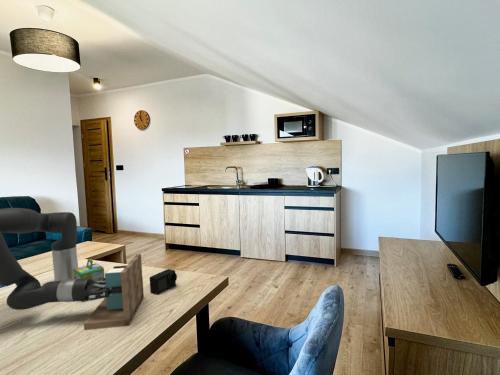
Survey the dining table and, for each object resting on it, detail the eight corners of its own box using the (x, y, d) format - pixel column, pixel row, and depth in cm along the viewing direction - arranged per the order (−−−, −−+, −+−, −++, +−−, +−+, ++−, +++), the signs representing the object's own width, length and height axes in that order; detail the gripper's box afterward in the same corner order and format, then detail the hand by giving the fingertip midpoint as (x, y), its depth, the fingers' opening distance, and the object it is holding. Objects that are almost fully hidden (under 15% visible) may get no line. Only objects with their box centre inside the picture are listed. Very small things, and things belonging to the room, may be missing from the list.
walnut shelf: (106, 300, 113) (103, 256, 111) (143, 297, 114) (140, 253, 113) (84, 329, 93) (79, 275, 91) (129, 325, 95) (125, 272, 93)
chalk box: (74, 296, 118) (71, 261, 117) (97, 288, 125) (95, 255, 124) (82, 302, 112) (79, 265, 111) (106, 294, 119) (103, 259, 118)
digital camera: (159, 295, 116) (158, 279, 115) (150, 293, 119) (149, 276, 118) (178, 286, 125) (177, 270, 124) (169, 283, 127) (168, 268, 127)
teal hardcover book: (111, 303, 104) (109, 268, 103) (131, 302, 105) (129, 267, 104) (107, 309, 100) (104, 273, 99) (128, 308, 101) (125, 271, 100)
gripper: (64, 288, 93) (119, 284, 95) (84, 272, 107) (131, 269, 109) (66, 310, 93) (120, 306, 96) (85, 291, 108) (132, 288, 110)
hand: (126, 286), depth 102 cm, fingers closed on teal hardcover book, 4 cm apart
